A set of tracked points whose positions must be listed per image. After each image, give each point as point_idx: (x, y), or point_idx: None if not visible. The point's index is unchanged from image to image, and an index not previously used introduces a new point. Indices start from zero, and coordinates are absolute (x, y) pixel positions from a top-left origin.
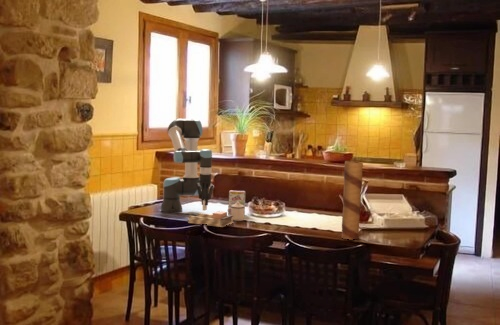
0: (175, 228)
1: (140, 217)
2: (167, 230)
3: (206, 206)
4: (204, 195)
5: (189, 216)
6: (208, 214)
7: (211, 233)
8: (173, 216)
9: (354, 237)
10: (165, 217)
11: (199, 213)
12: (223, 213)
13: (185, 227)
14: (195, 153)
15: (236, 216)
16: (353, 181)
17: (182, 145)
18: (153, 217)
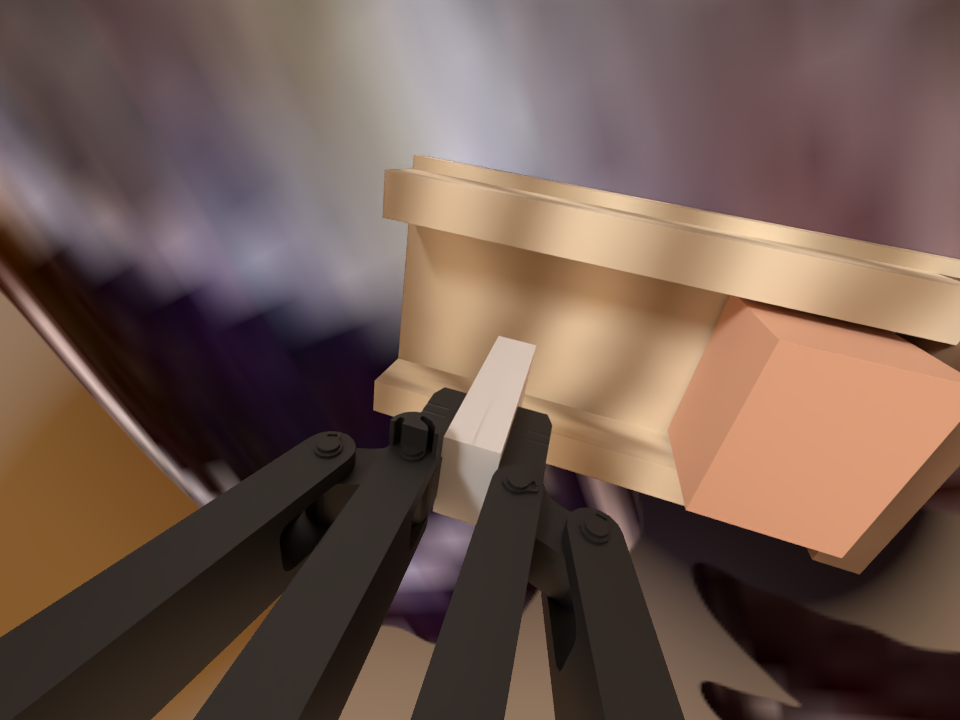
0: (416, 574)
1: (14, 298)
2: (401, 619)
3: (525, 381)
4: (394, 551)
5: (383, 410)
6: (554, 238)
7: (718, 687)
8: (129, 132)
9: None
10: (119, 221)
11: (408, 214)
12: (890, 498)
13: (464, 544)
14: None
15: None
16: None
17: None
18: (64, 262)
